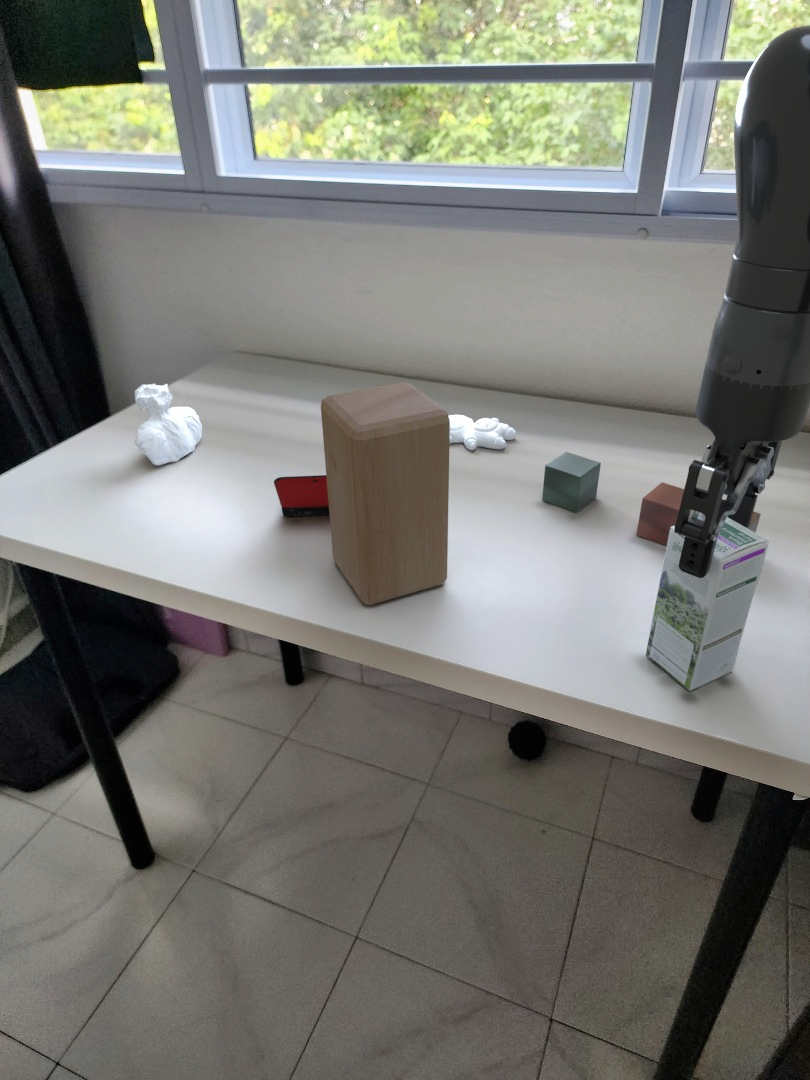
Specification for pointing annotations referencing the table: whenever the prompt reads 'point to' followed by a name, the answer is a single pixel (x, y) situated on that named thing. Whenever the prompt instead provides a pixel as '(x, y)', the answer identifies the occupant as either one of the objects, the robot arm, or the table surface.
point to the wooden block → (387, 489)
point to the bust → (165, 426)
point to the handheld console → (303, 495)
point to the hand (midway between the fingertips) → (713, 550)
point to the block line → (576, 486)
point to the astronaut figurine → (479, 432)
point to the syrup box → (705, 607)
